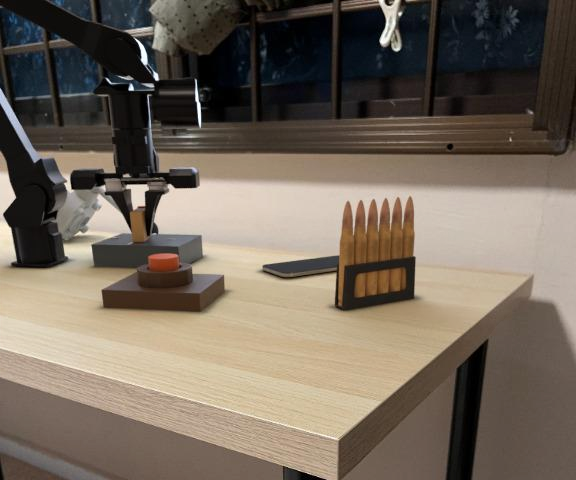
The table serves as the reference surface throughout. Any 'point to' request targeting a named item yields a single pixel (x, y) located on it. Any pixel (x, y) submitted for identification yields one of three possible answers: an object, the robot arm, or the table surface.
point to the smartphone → (303, 266)
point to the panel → (145, 249)
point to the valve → (82, 211)
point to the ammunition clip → (376, 256)
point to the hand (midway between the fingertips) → (142, 236)
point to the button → (163, 262)
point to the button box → (164, 290)
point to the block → (138, 224)
